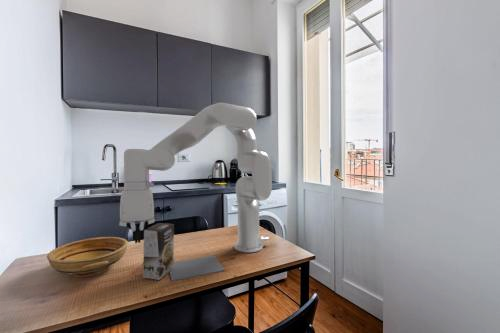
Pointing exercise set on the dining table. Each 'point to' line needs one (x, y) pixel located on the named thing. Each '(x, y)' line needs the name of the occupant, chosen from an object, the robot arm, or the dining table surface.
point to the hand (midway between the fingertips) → (137, 241)
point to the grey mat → (195, 268)
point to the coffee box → (158, 250)
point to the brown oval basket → (87, 255)
